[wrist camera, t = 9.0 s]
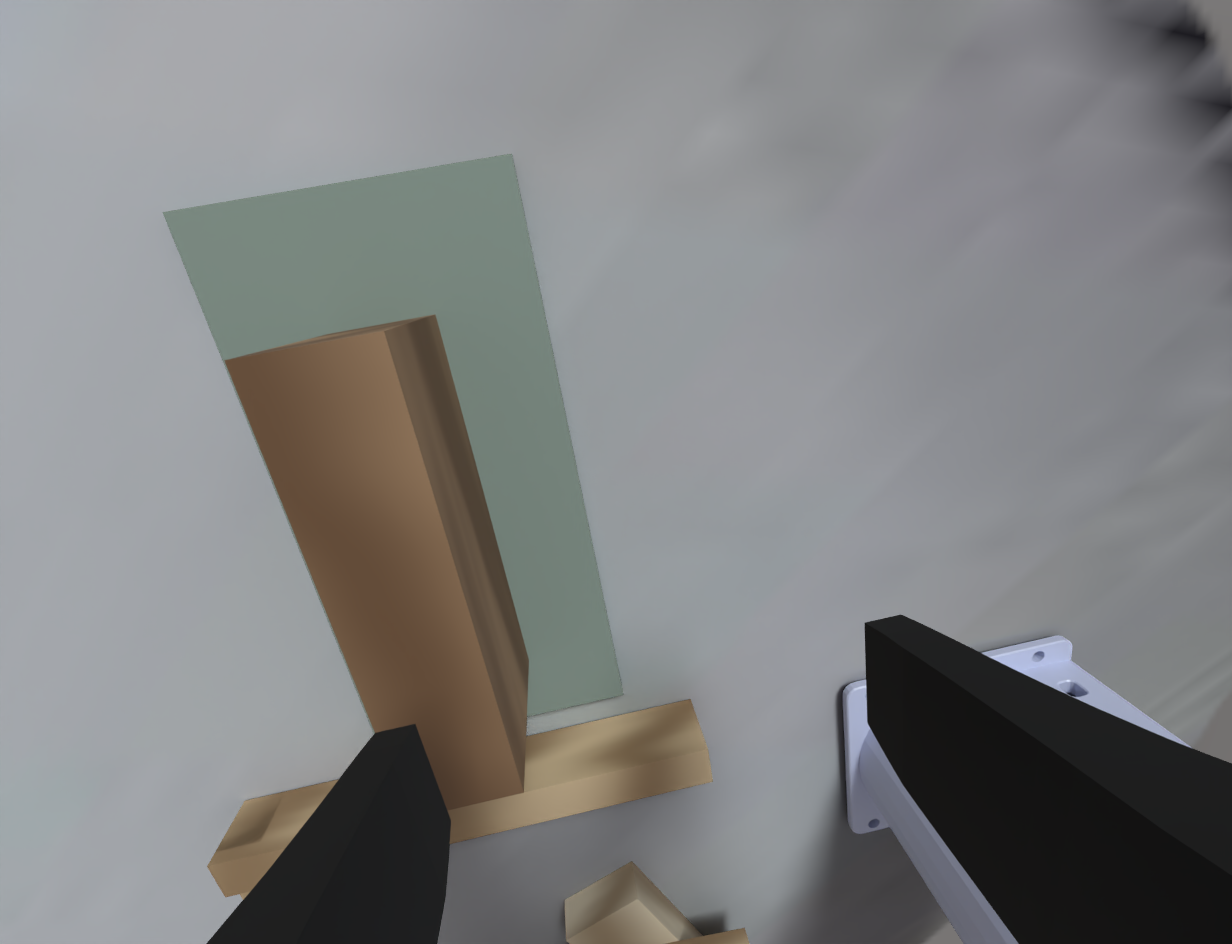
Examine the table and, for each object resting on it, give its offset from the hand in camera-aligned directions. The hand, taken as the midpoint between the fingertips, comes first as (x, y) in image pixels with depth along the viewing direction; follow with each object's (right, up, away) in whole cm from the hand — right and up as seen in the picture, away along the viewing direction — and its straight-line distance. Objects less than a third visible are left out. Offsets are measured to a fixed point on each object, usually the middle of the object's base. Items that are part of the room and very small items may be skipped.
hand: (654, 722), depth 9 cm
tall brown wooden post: (-6, +3, +9) cm, 11 cm away
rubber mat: (-6, +3, +9) cm, 12 cm away
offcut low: (+1, -17, +18) cm, 25 cm away
